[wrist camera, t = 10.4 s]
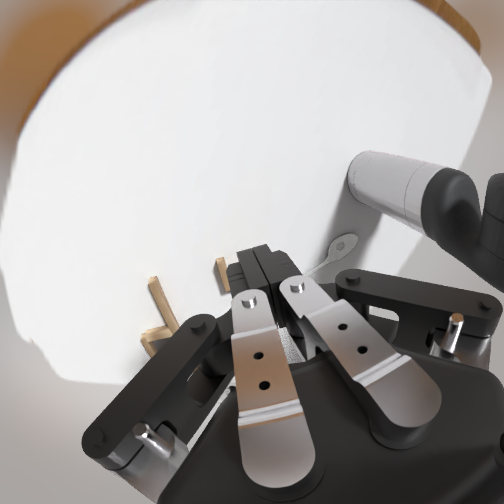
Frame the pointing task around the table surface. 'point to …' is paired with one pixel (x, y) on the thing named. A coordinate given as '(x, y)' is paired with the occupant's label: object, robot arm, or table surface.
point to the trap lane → (169, 314)
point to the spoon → (337, 251)
